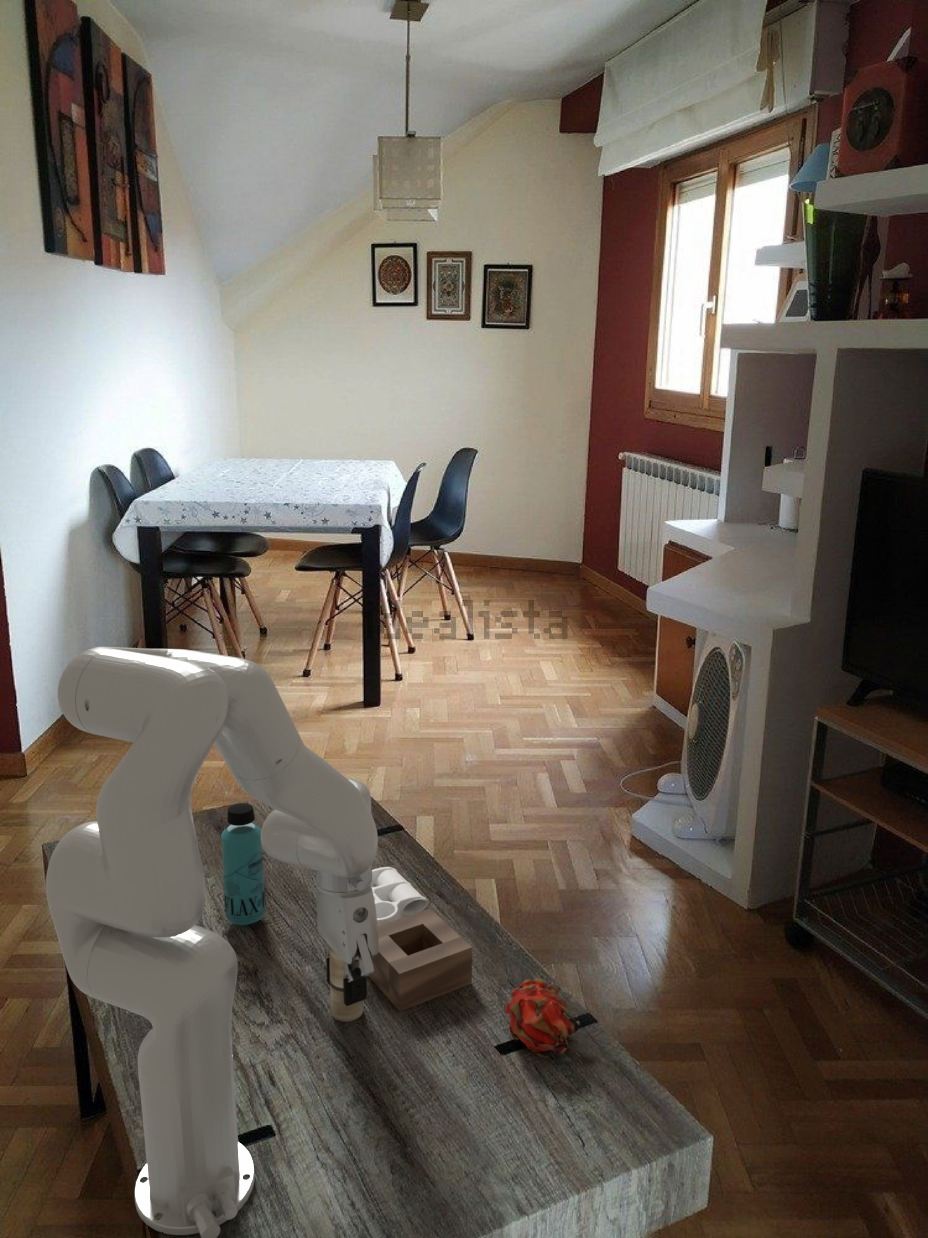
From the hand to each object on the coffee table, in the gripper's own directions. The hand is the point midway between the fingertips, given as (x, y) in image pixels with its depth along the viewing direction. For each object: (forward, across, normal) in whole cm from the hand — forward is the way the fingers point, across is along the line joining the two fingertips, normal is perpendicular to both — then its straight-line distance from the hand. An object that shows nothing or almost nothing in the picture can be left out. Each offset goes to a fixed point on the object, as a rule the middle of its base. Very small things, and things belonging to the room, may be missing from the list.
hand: (346, 990), depth 136 cm
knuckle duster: (+4, +22, -15) cm, 27 cm away
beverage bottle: (+4, +28, +4) cm, 29 cm away
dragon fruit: (+4, -19, -19) cm, 27 cm away
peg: (+3, 0, 0) cm, 3 cm away
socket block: (+3, +2, -12) cm, 13 cm away
